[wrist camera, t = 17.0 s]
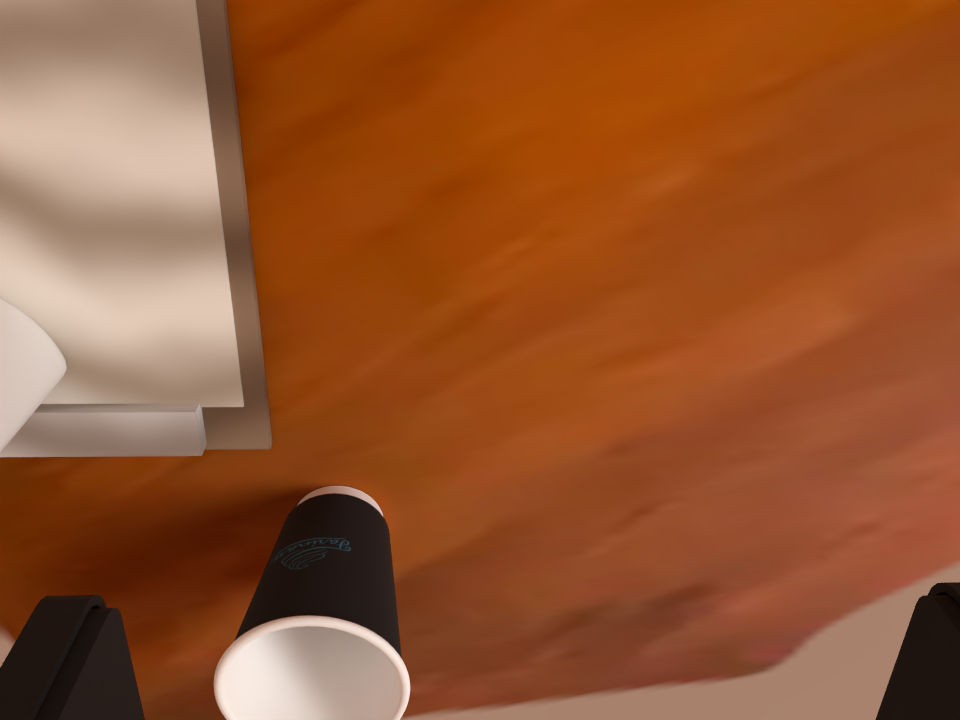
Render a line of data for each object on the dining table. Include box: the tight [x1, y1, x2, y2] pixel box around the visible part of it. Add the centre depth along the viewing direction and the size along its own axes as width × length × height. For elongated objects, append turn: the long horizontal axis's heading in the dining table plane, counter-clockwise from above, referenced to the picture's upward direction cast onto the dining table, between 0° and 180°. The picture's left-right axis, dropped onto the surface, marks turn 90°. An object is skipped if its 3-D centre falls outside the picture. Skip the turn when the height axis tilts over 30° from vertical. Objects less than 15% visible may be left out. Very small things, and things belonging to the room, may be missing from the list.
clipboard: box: [0, 0, 272, 457], centre depth 35 cm, size 22×16×2 cm
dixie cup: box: [214, 486, 410, 720], centre depth 39 cm, size 8×8×11 cm
